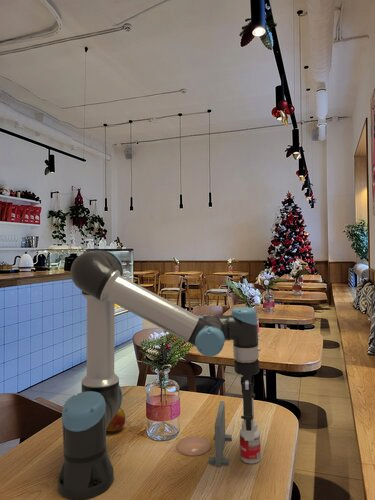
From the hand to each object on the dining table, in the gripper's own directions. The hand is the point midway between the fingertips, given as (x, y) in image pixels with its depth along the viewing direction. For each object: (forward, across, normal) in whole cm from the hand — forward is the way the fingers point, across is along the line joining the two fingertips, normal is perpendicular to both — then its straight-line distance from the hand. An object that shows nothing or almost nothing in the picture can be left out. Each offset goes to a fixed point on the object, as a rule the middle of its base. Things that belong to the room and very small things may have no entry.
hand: (249, 428), depth 115 cm
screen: (+9, +4, +10) cm, 14 cm away
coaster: (+9, +5, +18) cm, 21 cm away
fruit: (+9, +13, +50) cm, 52 cm away
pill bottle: (+10, 0, 0) cm, 10 cm away
